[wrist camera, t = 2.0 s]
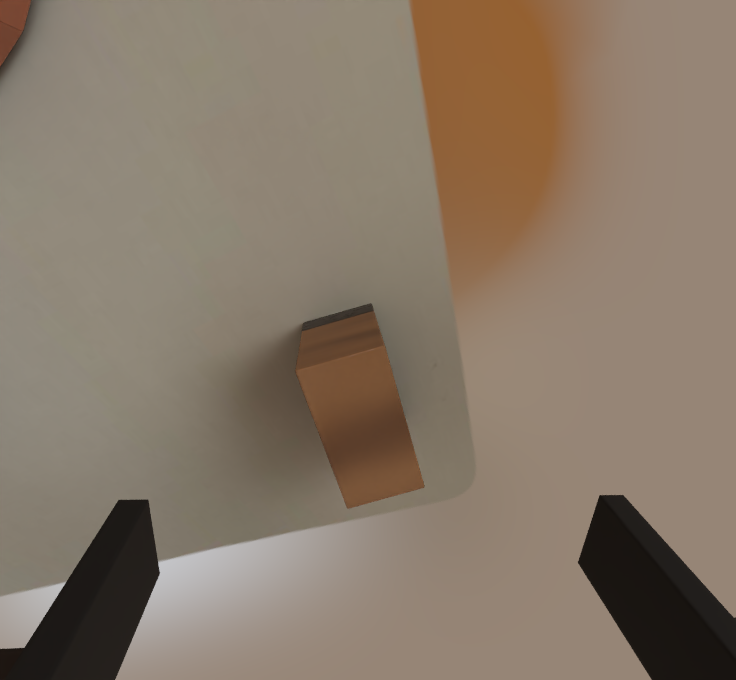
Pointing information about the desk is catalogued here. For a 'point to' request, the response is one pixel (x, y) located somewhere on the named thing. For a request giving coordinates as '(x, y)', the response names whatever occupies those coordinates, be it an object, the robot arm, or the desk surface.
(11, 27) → the terracotta bowl
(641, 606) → the robot arm
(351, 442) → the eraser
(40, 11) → the desk surface
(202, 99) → the desk surface
